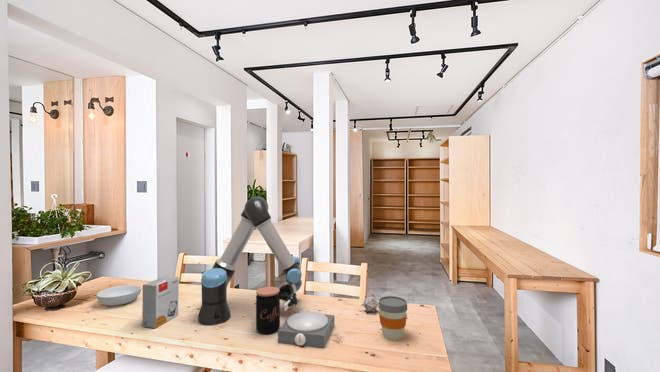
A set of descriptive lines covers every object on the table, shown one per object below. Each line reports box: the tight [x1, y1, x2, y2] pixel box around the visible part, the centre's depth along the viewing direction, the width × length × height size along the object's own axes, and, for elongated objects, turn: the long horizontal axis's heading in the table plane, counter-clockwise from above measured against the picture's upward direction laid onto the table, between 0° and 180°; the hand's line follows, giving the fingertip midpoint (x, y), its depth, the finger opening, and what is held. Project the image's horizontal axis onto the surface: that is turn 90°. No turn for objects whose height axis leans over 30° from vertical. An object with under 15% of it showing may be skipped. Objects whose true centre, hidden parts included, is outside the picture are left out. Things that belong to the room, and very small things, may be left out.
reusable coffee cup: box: [377, 295, 408, 341], centre depth 136 cm, size 13×12×15 cm
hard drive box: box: [141, 275, 180, 329], centre depth 151 cm, size 16×8×20 cm, turn 166°
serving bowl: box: [96, 284, 142, 306], centre depth 175 cm, size 21×21×7 cm
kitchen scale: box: [277, 311, 335, 349], centre depth 137 cm, size 20×21×6 cm
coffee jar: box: [255, 286, 281, 335], centre depth 142 cm, size 11×11×18 cm
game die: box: [361, 294, 379, 314], centre depth 161 cm, size 9×8×10 cm
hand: (270, 306), depth 143 cm, fingers open, 13 cm apart
